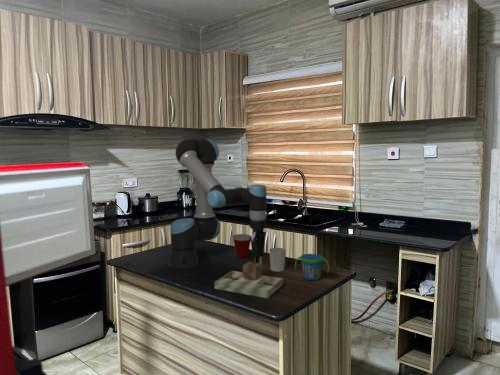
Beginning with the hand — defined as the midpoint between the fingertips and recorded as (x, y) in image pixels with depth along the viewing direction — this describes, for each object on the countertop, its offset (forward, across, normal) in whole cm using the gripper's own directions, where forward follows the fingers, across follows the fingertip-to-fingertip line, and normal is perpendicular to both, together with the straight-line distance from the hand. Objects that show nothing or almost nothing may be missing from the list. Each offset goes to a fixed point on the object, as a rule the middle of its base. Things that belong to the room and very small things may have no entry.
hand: (258, 270), depth 173 cm
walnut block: (+1, -6, 0) cm, 7 cm away
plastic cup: (+5, +28, +22) cm, 36 cm away
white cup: (+5, +17, -3) cm, 18 cm away
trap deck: (+4, -10, 0) cm, 11 cm away
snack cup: (+5, +12, -22) cm, 25 cm away
